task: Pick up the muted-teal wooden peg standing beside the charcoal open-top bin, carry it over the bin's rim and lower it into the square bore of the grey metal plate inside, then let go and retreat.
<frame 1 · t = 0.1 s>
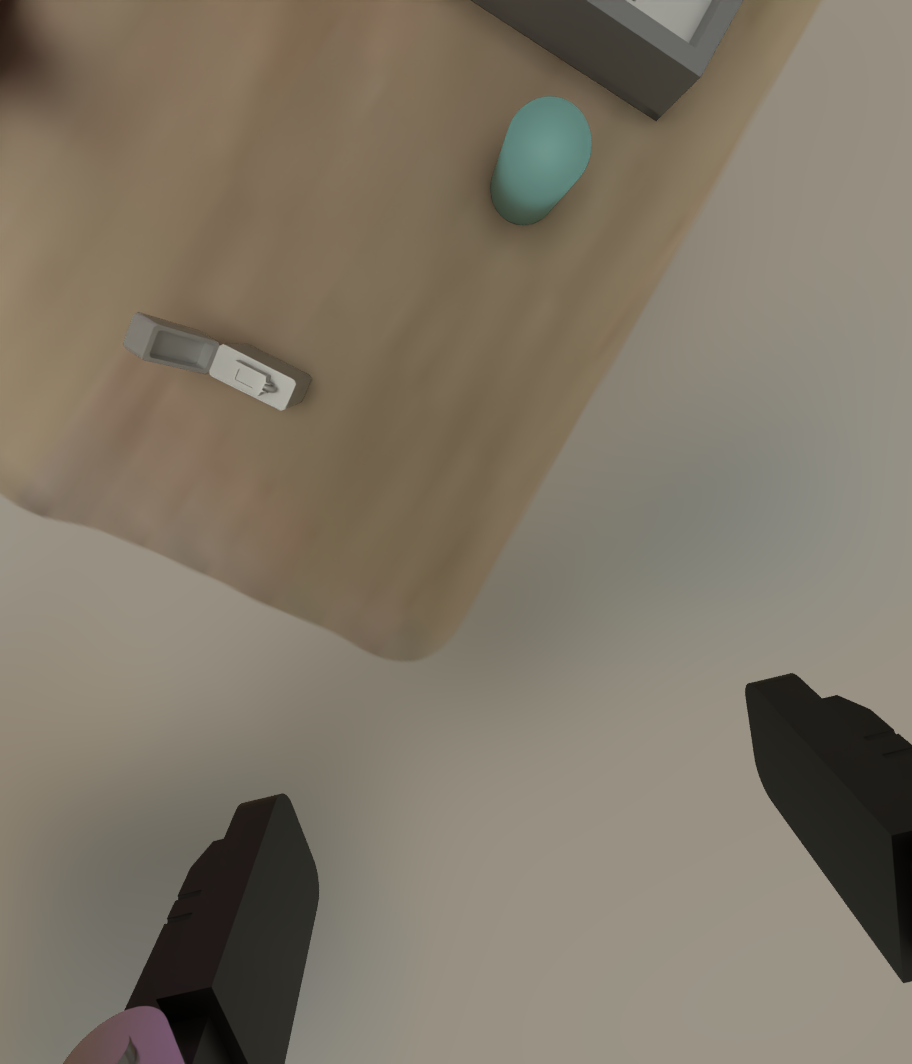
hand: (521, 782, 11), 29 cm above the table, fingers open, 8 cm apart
peg: (524, 188, 35), on the table
lighter: (249, 361, 37), on the table
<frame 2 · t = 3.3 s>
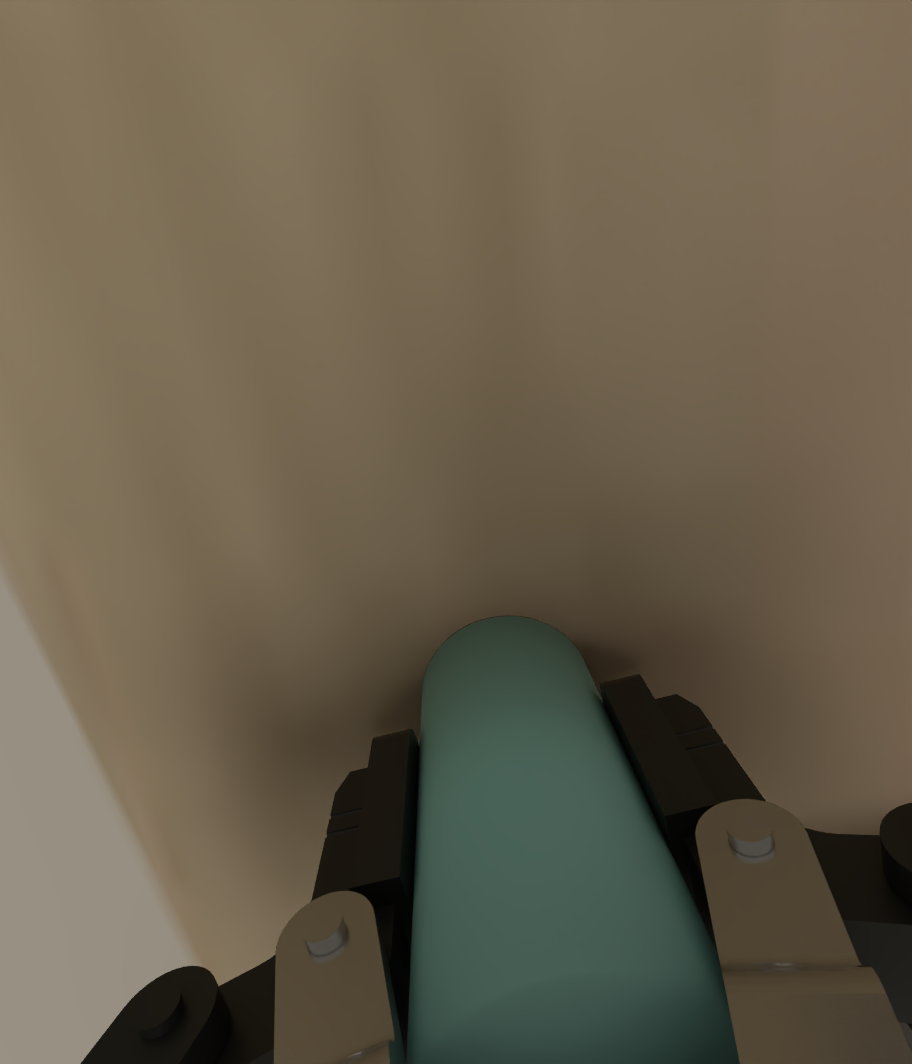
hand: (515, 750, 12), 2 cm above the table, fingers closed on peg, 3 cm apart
peg: (506, 693, 14), on the table, touching gripper
when the fingers open (4 cm above the table, at t = 7.8 s): peg drops 1 cm, resting on bin.
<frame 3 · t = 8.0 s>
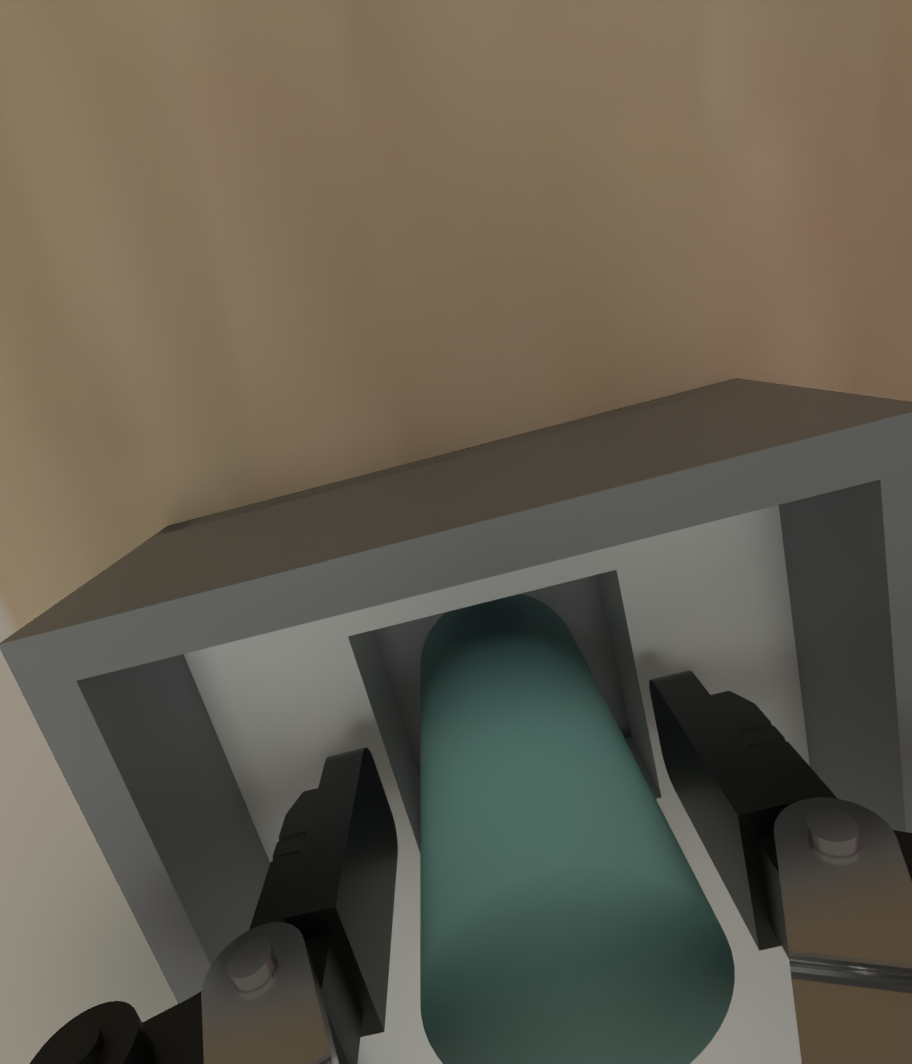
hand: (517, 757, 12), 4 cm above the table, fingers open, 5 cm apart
peg: (498, 665, 15), point 1 cm above the table, touching bin
bin: (550, 848, 18), on the table
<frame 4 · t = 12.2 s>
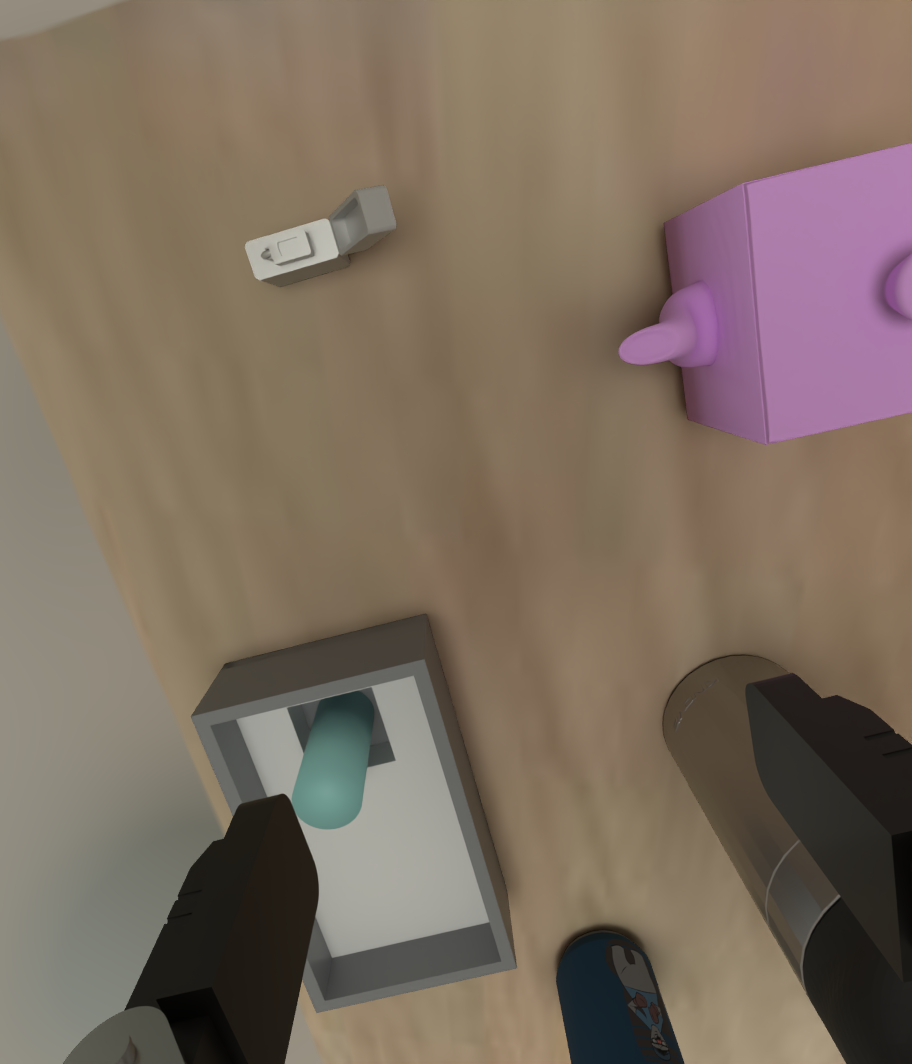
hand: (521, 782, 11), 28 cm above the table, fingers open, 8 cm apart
teapot: (743, 307, 36), on the table
peg: (345, 713, 42), point 1 cm above the table, touching bin
lighter: (336, 252, 35), on the table
soda can: (599, 957, 49), on the table
bin: (374, 784, 44), on the table
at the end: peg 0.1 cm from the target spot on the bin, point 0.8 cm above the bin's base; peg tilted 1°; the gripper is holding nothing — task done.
